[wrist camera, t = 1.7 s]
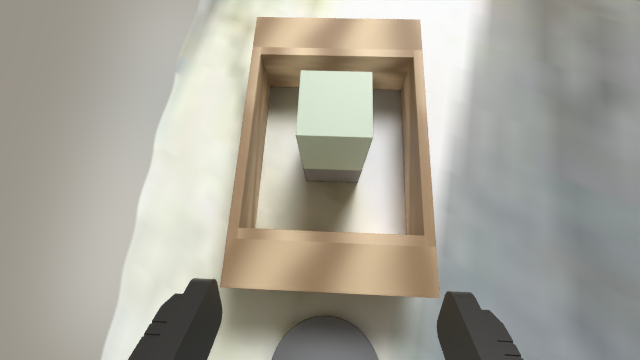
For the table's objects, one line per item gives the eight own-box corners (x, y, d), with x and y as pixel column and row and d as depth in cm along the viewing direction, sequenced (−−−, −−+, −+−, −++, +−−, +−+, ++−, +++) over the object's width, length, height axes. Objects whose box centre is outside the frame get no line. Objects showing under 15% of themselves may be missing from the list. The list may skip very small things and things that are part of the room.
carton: (406, 56, 33) (420, 19, 28) (418, 293, 25) (439, 298, 21) (267, 53, 33) (257, 17, 28) (239, 284, 26) (219, 287, 21)
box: (358, 135, 30) (372, 72, 20) (357, 182, 29) (372, 137, 19) (309, 134, 30) (300, 70, 21) (306, 180, 29) (295, 135, 19)
